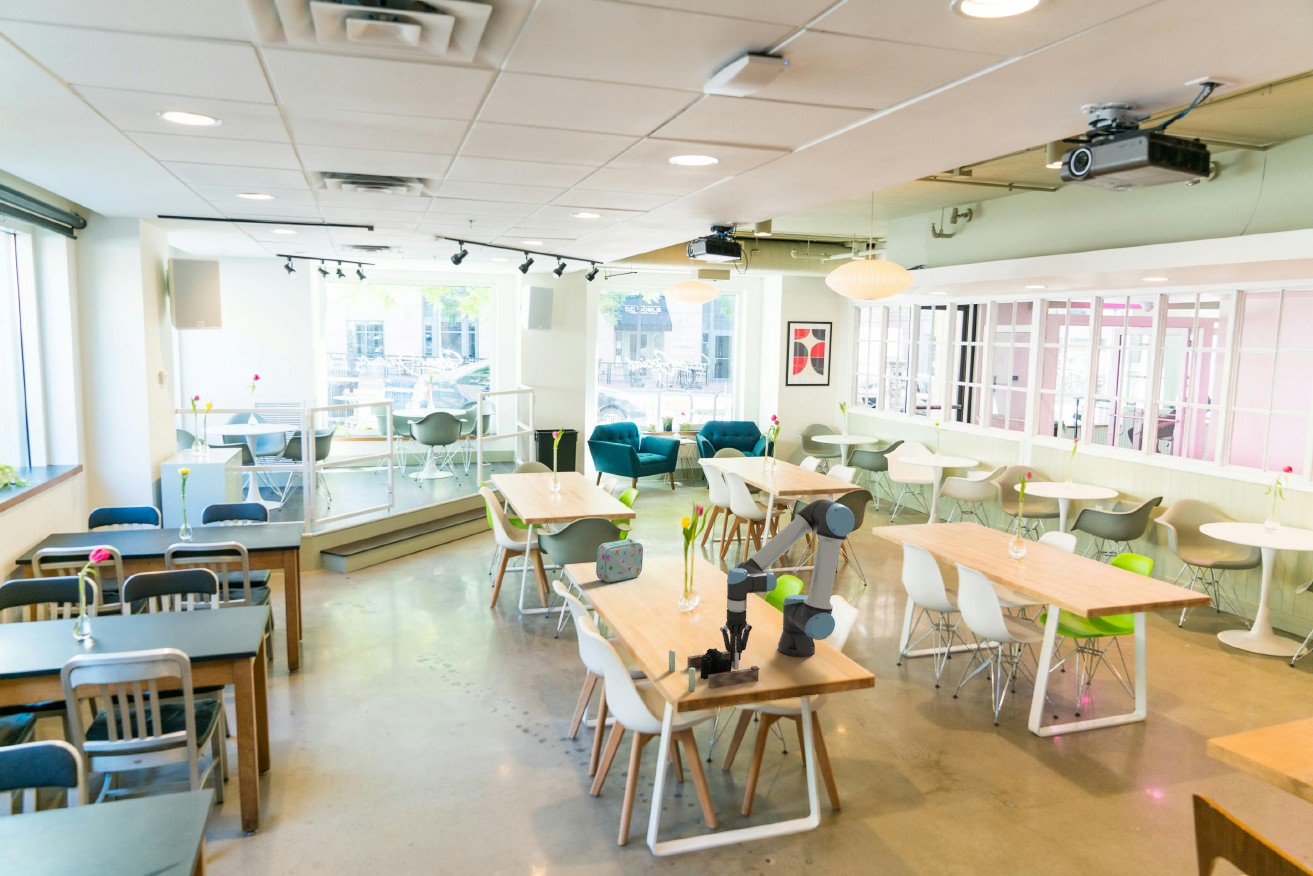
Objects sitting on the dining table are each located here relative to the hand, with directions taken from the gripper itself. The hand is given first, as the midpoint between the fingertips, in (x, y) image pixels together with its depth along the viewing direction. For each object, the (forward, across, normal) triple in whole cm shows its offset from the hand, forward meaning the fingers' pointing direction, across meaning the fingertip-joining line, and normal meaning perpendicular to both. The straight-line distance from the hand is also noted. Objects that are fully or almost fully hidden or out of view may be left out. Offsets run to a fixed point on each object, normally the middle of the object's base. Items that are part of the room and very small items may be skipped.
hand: (735, 668), depth 319 cm
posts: (+2, +22, 0) cm, 23 cm away
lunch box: (+2, 0, -136) cm, 136 cm away
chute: (+2, +6, 0) cm, 6 cm away
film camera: (+2, +7, -1) cm, 8 cm away
